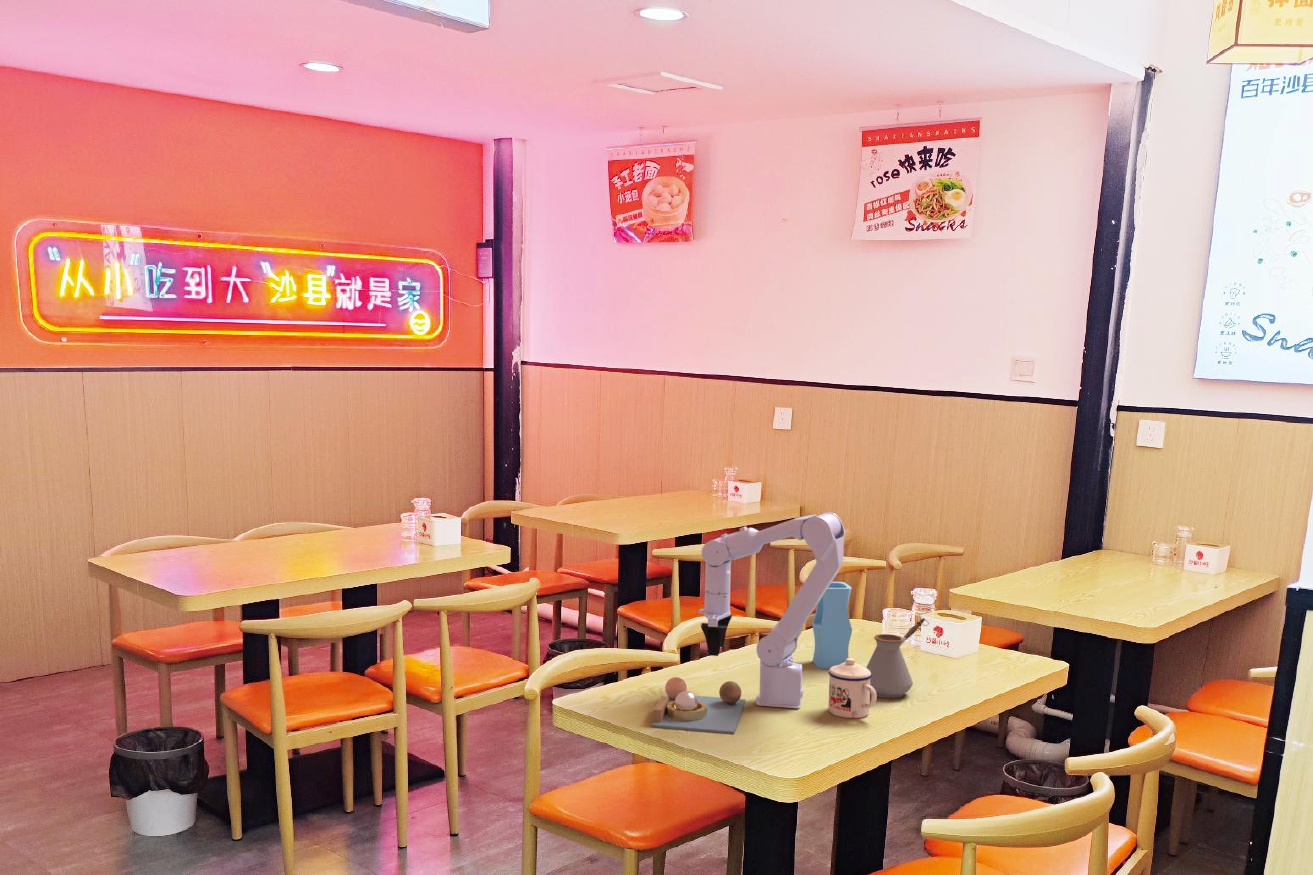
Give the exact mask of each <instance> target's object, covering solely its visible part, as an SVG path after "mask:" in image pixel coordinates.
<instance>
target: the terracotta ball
mask: <svg viewBox="0 0 1313 875" xmlns="http://www.w3.org/2000/svg"><path fill="white" fill-rule="evenodd" d="M687 686H688V685H687V683H686V681H685V680H684V679H683V678H681V677H678V676H674V677H671V678H669V679H668V680H667V681H666V683H665V686H664V691H665V693H666V695H667V697H668V696H669V697H670V698H671V699H676V697H677V695H678V694H679V693H681V692H683V691H688V687H687Z"/></svg>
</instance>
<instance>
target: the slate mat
mask: <svg viewBox="0 0 1313 875" xmlns="http://www.w3.org/2000/svg"><path fill="white" fill-rule="evenodd" d="M695 696H696V698H697V701H701V702H703V703H705V704H706V705H707V716H706V717H705V718H703V719H700V720H695V721H682V720H676V719H672V718H670V717H668V716H667V713H666V704H667V703H669V702H670V701H674V700H675V699H671V698H670V697H669V696H668V695H667V696H664V695H662V696H661V697H659V700H658V701H657V703H656V705H655V706H654V708H653V714H652V715H653V716H652V717H653V718H652V723H651V725H650V727H651V728H656V729H657V728H658V729H672V730H683V731H693V732H706V733H716V734H718V733H719V734H729V735H735V733H736V730H737V727H738V724H739V722H740V718H741V715H742V713H743V710H744V707H745V704H746V699H745V698H744V699H742V698H740V699H739V700H738V701H737V702H736V703H733V704H728V703H725V702H724V701H723V700H722V699H721V698H720V696H719V697H718V696H707V695H695Z"/></svg>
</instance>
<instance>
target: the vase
mask: <svg viewBox="0 0 1313 875" xmlns="http://www.w3.org/2000/svg"><path fill="white" fill-rule="evenodd" d="M851 592H852V586H850V585H849V584H847V583H846V582H843V581H832V582H831V584H830V585H829V587H828V589H827V590H826V592H825V593H824V595H823V596H822V598H821V599H820V601H819V602H818V604H817V606H816V608H815V609H816V610H815V613H814V616H813V618H812V622H811V623H812V624H811V625H812V631H813V637H814V652H813V658H812V662H813V664H814V665H815V666H816V667H817V668H818V669H822V670H830V668H831V667H833V666H836V665H840V664H842V663H845V662H846V659H847V658H849V646H850V641H851V636H852V633H853V628H852V625H851V622H850V621H851V620H850V615H849V602H850V598H851V597H850V596H851Z"/></svg>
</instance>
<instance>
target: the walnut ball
mask: <svg viewBox="0 0 1313 875" xmlns="http://www.w3.org/2000/svg"><path fill="white" fill-rule="evenodd" d="M718 691H719V692H718V694H719V697H720V698H721V699H722V700H723V701H724V702H725V703H728V704H733V703H736V702H737V701H738V700H739V699H741V696H742V689H741V686H740V684H738V683H737V682H735V681H732V680H728V681H726V682H724V683H722V684H721V686H720V688H719V690H718Z"/></svg>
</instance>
